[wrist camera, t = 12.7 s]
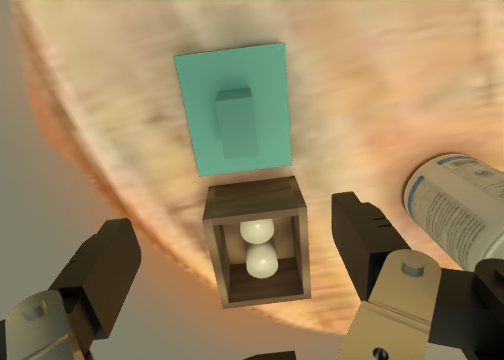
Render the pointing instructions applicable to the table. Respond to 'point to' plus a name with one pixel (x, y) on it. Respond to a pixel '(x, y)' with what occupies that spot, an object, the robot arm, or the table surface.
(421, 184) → the supplement tub
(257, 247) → the pale sphere
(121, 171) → the table surface
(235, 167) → the lid
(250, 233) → the cream ping pong ball
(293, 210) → the crate
